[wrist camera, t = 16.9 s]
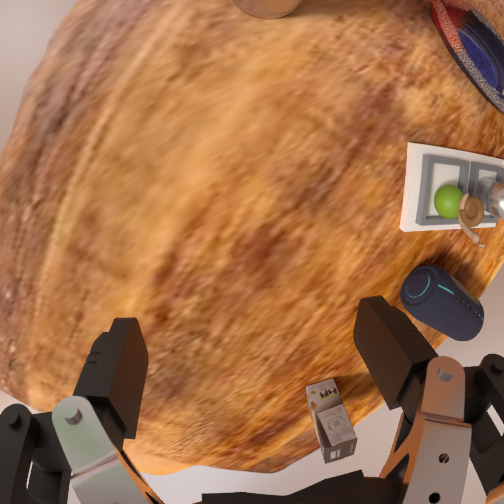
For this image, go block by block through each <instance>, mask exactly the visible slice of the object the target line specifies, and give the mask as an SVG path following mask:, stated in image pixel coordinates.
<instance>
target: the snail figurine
mask: <svg viewBox="0 0 504 504" xmlns="http://www.w3.org/2000/svg"><path fill="white" fill-rule="evenodd" d="M468 196H469V194H468V193H466V194H464V195H463V193H462V192H461V190H460V189H459V188H457V187H456V186H454V185H449V184H448V185H443V186H441V187H440V188H439V189H438V190H437V191H436V193H435V196H434V206H435V209H436V211H437V212H438V214H439V215H441V216H442V217H444V218H446V219H455V218H457V217H458V221H459V224H460V226H461V228H462V230H463V231H464V232H465V233H466V234H467V235H468V236H469V237H470V238H471V239H472V241H473V242H474V243H477V244H478V243H479V240H480V236H479V234H478V233H475V232H474V231H473V230H472V229H471V228H470V227H476V226H478V225H479V224H480V223H481V222H482V220H483V217H484V205H483V203H482V201H481V200H480V199H479V198H478V197H476V196H471V197H469V198H468ZM484 246H485V244H481V243H479V247H484Z"/></svg>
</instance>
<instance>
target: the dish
mask: <svg viewBox="0 0 504 504" xmlns="http://www.w3.org/2000/svg"><path fill="white" fill-rule="evenodd" d="M429 1H430V2H431V3H432V8H431V17H432V20H433V22H434V24H435V25H436V27H437V29H438V31H439V33H440V35H441V37H442V39H443V41H444V43H445V45H446V47H447V49H448V50H449V52H450V54H451V55H452V57H453V58H454V60H455V61H456V62H457V64H458V65H459V66H460V68H461V69H462V70H463V72H464V73H465V74H466V76H467V77H468V78H469V79H470V81H471V82H472V83H473V84H474V85H475V87H476V88H477V89H478V90H479V91H480V92H481V93H482V95H483V96H484V97H485V98H486V99H487V100H488V101H489V102H491V103H492V104H493V105H494V106H495V107H496V108H497V109H498V110H500V111H501V112H503V113H504V41H503V39H502V38H501V36H500V35H499V34H498V32H497V31H496V30H495V29H494V27H493V26H492V25H491V24H490V23H489V22H488V20H487V19H486V18H485V17H484V16H483V15H482V14H481V13H479V12H478V11H477V10H476V9H475V8H473V7H472V6H471V5H469V4H468V3H466V2H464V1H462V0H429Z"/></svg>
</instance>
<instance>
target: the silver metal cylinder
mask: <svg viewBox="0 0 504 504" xmlns="http://www.w3.org/2000/svg"><path fill="white" fill-rule="evenodd" d="M476 197H478V198H479V199H480V200H481V201H482V203H483V205H484V211H486V212H488V213H490V214H492V215H494V216H496V217H498V218H500V219H502V220H503V221H504V184H502V183H499V182H497V181H494V180H492V179H489V178H486V177H482V178H481V179H480V180H479V181H478V185H477V192H476Z"/></svg>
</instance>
